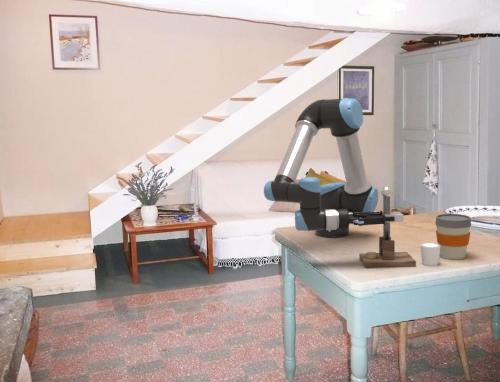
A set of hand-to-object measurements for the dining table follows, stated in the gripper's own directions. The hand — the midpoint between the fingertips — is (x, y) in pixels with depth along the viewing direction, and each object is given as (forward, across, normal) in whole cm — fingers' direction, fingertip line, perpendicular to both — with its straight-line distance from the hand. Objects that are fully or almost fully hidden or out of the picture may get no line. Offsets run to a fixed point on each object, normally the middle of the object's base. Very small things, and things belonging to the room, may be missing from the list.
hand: (401, 217), depth 192 cm
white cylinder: (+10, +3, -17) cm, 20 cm away
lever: (-5, 0, -13) cm, 14 cm away
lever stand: (-5, 0, -17) cm, 18 cm away
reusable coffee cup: (+21, -5, -17) cm, 27 cm away
